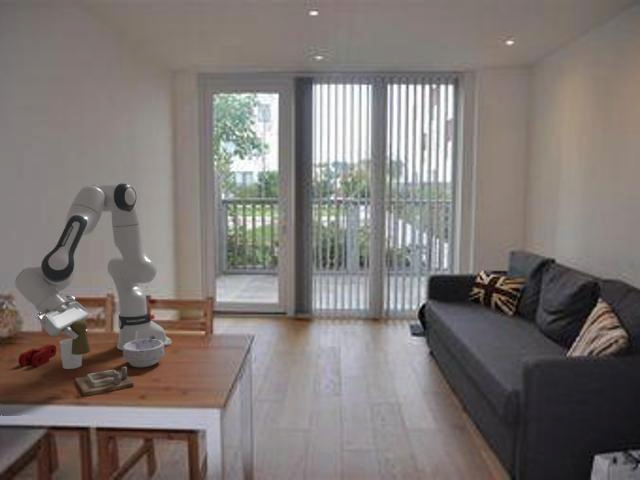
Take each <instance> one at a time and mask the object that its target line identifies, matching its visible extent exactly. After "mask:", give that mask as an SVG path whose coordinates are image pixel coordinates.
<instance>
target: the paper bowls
mask: <svg viewBox="0 0 640 480" xmlns="http://www.w3.org/2000/svg"><path fill="white" fill-rule="evenodd" d="M122 354H123V355H122V356H123V358H122V359H123V361H125V362H127V363H128V364H130V366H132V367H134V368H149V367H152V366H154V365H156V364H157V363H158V362H159V360H160V359H161V358H162V357H164V356H165V346H164V343H163V342H162V341H161V340H157V339H140V340H134V341H131V342H128V343H126V344H125V345H124V346H123V350H122Z"/></svg>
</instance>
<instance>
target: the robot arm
mask: <svg viewBox="0 0 640 480" xmlns="http://www.w3.org/2000/svg"><path fill="white" fill-rule="evenodd" d="M136 202H137V193H136V191H135V189H134V187H133V186H132V185H131V184H129V183H121V182H120V183H115V182H114V183H113V182H112V183H110V182H109V183H108V182H107V183H102V184H92V185H86V186H83V187H82V188H81V189H80V190H79V191H78V193H77V194H76V196H75V197H74V199H73V201H72V203H71V206H70V207H69V209H68V212H67V215H66V218H65V225H64V229H63V230H62V233H61V235H60V237H59V239H58V242H57V243H56V245H55V247H54V248H52V250H50V251H49V252H48V253H47V254H46V255H45V256H44V258H43V259H42V261H41V266H40V265H39V266H34V267H31V266H30V267H29V266H28V267H26V268H24V269H23V270H22V271H21V272H20V273H19V274H18V275H17V276H16V278H15V283H14V284H15V285H14V286H15V287H16V289H17V291H18V292H19V293H20V295H22V297H23V298H24V299H25V300H26V301H27V302H29V303H31V304H32V305H33V306H34V308H35V310H36V311H38V313H37V319H38V321H39V323H40V325H41V327H42V328H43V329H44V330H45V331H46V333H47V334H48V335H50V336H51V337H55V336H57V335H60V334H62V333H64V334H65V335H67V336H69V337H71V338H73V339H77V338H78V337H79V336H80V335H79V334H78V333H77V332H74V331H73V330H72V329H71V325H72V323H73V322H75V321H79V320H83V321H86V320H87V319H88V318H89V317H90V314H89V311H87V309H86V308H85V307H84V306H83V305H82V304H81V303H80V302H78V301H77V300H76V298H75V297H74V296H73V295H69V294H60V292H61V291H62V290H64V289H66V288H68V287H69V286H70V285H71V283H73V280H74V269H75V259H74V257H75V252H76V250H77V248H78V246H79V243H80V242H81V240H82V237H83V236H86V235H90V234H92V233H93V231H94V230H95V228H97V225H98V224H99V221H100V219H101V216H102V214H103V212H110V213H111V227H112V228H111V229H112V234H113V243H114V245H115V247H116V248H117V249H118V251H119V253H120V255H116V256H114V257H111V259H109V261H108V263H107V272H108V274H109V276H110V277H111V278H112V280H113V283H114V285H115V288H116V289H115V290H116V292H117V296H118V297H117V298H118V309H119V314H118V319H117V321H118V328H119V335H118V341H117V346H116V349H118V350H120V351H123V346H124V345H125V344H126V343H128V342H131V341H134V340H140V339H157V340H161V341H162V342H163V343H164V347H165V346H170V345H172V340H171V338H170V337H168V336H167V335H166V331H165V330H164V328H163V327H162V326H161V325H159V324H157V323H156V322H155V321H153V320H155V319H156V316H155V314H153V313H152V314H151V313H149V312H148V311H147V295H146V293H145V291H144V290H143V289H142V287H141V285H142V284H143V285H144V284H149V283H151V282H152V281H153V280H154V279H155V277H156V276H157V275H156V274H157V267H156V264H155V263H154V262H153V261H152V260H151V259H150V256H149V255H148V252H147V250H146V247H145V245H144V242H143V236H142V229H141V221H140V215H139V210H138V208H137V207H138V206H137V204H136ZM86 332H87V333H88V332H89V330H88V328H87V329H86Z"/></svg>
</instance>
